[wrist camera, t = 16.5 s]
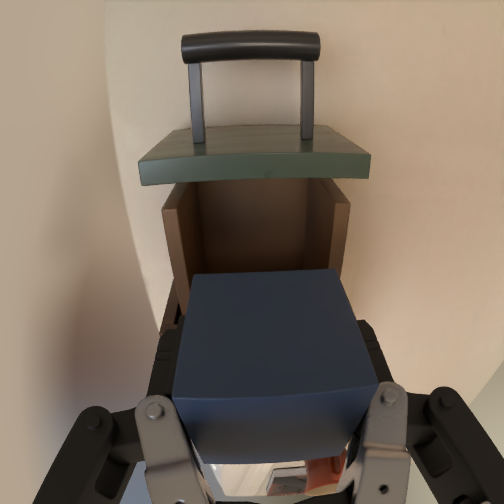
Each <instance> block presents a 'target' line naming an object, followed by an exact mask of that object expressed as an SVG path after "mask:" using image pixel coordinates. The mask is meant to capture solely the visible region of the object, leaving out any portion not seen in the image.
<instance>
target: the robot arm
mask: <svg viewBox="0 0 504 504" xmlns="http://www.w3.org/2000/svg"><path fill="white" fill-rule="evenodd" d="M352 311H353V310H352ZM185 316H186V315H180V316H179V320H178V325H177V329H166V331H165V332H164V333H163V335H162V336H161V337H160V339H159V343H158V347H157V352H156V356H155V361H154V365H153V370H152V374H151V378H150V383H149V387H148V393H147V395H146V397H145V398H144V399H143V400H141V401H140V402H139V403H138V405H137V407H135V408H132V409H130V410H125V411H120V412H115V413H110V412H109V411H108V410H107V409H105V408H103V407H100V406H92V407H89V408H87V409H85V410H84V411H82V412H81V413H80V415H79V416H78V418H77V420H76V422H75V423H74V425H73V427H72V429H71V431H70V432H69V434H68V436H67V438H66V440H65V441H64V443H63V445H62V447H61V449H60V451H59V453H58V454H57V456H56V458H55V460H54V462H53V464H52V466H51V468H50V469H49V472H48V474H47V475H46V477H45V479H44V481H43V483H42V485H41V487H40V489H39V491H38V493H37V495H36V497H35V499H34V502H33V504H119V503H120V501H121V499H122V496H123V494H124V492H125V489H126V487H127V484H128V482H129V480H130V477H131V475H132V473H133V470H134V468H135V466H136V464H137V462H140V461H145V462H146V470H145V480H146V484H147V488H148V491H149V494H150V498H151V501H152V504H259V503H253V502H222V501H215V499H214V497H213V494H212V492H211V490H210V488H209V486H208V484H207V482H206V479H205V477H204V474H203V471H202V469H201V466H200V463H199V461H198V458H197V455H196V453H195V450H194V447H193V444H192V441H191V438H190V436H189V434H188V432H187V430H186V428H185V426H184V424H183V422H182V419H181V417H180V415H179V413H178V411H177V409H176V406H175V404H174V402H173V400H172V391H173V385H174V378H175V372H176V366H177V360H178V355H179V349H180V343H181V338H182V332H183V327H184V321H185ZM354 316H355V315H354ZM355 319H356V318H355ZM356 321H357V324H358V327H359V329H360V332H361V334H362V337H363V340H364V343H365V345H366V348H367V351H368V354H369V356H370V359H371V362H372V365H373V368H374V371H375V373H376V376H377V379H378V382H379V387H378V389H377V391H376V393H375V395H374V397H373V399H372V401H371V402H370V404H369V406H368V408H367V410H366V412H365V414H364V415H363V417H362V419H361V421H360V423H359V424H358V426H357V428H356V430H355V431H354V433H353V435H352V437H351V438H350V440H349V445H348V450H347V455H346V459H345V464H344V468H343V472H342V475H341V477H340V479H339V482H338V485H337V488H336V492H335V493H332V494H326V495H320V496H314V497H312V498H309V499H306V500H303V501H300V502H298V503H294V504H405V502H406V495H407V489H408V481H409V472H410V463H411V457H412V458H413V460H414V462H415V464H416V465H417V467H418V469H419V470H420V472H421V474H422V475H423V477H424V479H425V481H426V482H427V484H428V486H429V488H430V489H431V491H432V493H433V494H434V497H435V498H436V500H437V502H438V504H504V458H503V457H502V455H501V454H500V452H499V451H498V449H497V448H496V446H495V445H494V443H493V442H492V440H491V439H490V437H489V436H488V434H487V433H486V431H485V430H484V429H483V427H482V426H481V424H480V423H479V422H478V420H477V419H476V417H475V416H474V414H473V413H472V412H471V410H470V409H469V407H468V406H467V405H466V403H465V402H464V401H463V399H462V398H461V396H460V395H459V394H458V393H457V392H456V391H455V390H454V389H452V388H450V387H438V388H436V389H435V390H434V391H433V392H432V393H431V394H430V395H426V394H414V393H409V392H406V391H405V390H404V388H403V387H401V386H400V385H399V384H397V383H395V382H394V380H393V378H392V375H391V373H390V370H389V368H388V365H387V362H386V360H385V357H384V355H383V352H382V350H381V349H380V345H379V342H378V341H377V337H376V335H375V333H374V330H373V328H372V327H371V326H370V325H369V324H368V323H367V322H366V321H365V320H356ZM406 448H407V450H408V451H406ZM410 455H411V456H410ZM381 493H382V494H381Z"/></svg>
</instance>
